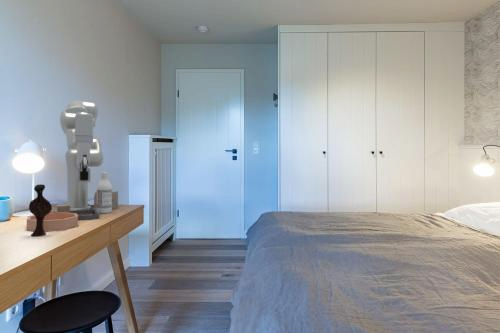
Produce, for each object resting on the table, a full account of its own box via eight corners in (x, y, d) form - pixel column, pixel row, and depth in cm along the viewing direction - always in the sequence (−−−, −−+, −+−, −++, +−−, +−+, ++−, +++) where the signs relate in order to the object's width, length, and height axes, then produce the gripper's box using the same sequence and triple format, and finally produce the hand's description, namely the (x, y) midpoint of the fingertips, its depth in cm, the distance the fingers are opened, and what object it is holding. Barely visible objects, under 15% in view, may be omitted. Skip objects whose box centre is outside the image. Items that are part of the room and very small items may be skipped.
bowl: (28, 224, 131) (28, 214, 131) (75, 220, 140) (75, 211, 140) (25, 233, 117) (25, 222, 117) (78, 228, 126) (78, 218, 126)
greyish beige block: (56, 218, 145) (56, 204, 145) (69, 217, 148) (69, 204, 147) (56, 219, 141) (57, 206, 141) (70, 218, 144) (70, 205, 144)
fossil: (97, 211, 163) (97, 192, 163) (93, 210, 165) (93, 192, 165) (118, 208, 173) (118, 190, 173) (114, 207, 175) (114, 190, 175)
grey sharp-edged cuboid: (77, 181, 148) (77, 168, 148) (89, 181, 151) (89, 168, 151) (77, 182, 145) (78, 168, 144) (90, 181, 147) (90, 168, 147)
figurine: (54, 232, 119) (54, 184, 118) (48, 236, 114) (49, 185, 113) (31, 233, 117) (32, 183, 117) (25, 236, 112) (25, 185, 112)
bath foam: (97, 211, 164) (98, 171, 163) (112, 210, 166) (113, 172, 165) (95, 213, 157) (96, 172, 156) (110, 213, 159) (111, 172, 159)
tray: (48, 216, 148) (48, 212, 147) (95, 213, 158) (95, 209, 158) (47, 222, 135) (48, 217, 135) (99, 218, 145) (99, 214, 145)
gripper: (73, 140, 152) (73, 178, 153) (75, 139, 138) (75, 181, 139) (91, 140, 156) (90, 178, 157) (95, 139, 142) (94, 181, 143)
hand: (83, 179), depth 148 cm, fingers closed on grey sharp-edged cuboid, 4 cm apart
